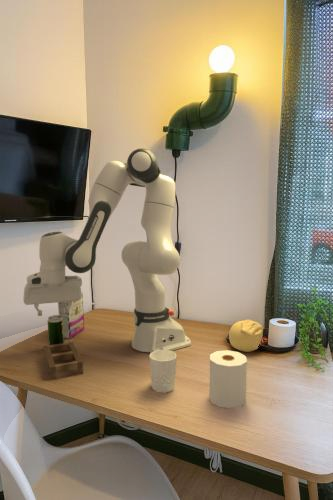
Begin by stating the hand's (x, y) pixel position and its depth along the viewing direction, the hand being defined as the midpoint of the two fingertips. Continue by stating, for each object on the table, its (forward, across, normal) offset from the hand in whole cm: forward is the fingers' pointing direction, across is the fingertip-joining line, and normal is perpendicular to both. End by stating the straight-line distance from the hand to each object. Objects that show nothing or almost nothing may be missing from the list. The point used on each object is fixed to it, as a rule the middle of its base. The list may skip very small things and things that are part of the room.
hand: (53, 314), depth 140 cm
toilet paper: (+13, -40, +55) cm, 69 cm away
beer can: (+13, -1, 0) cm, 13 cm away
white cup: (+13, -26, +42) cm, 51 cm away
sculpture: (+12, -65, +28) cm, 72 cm away
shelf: (+13, -1, +15) cm, 20 cm away
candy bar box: (+13, -9, -13) cm, 21 cm away
